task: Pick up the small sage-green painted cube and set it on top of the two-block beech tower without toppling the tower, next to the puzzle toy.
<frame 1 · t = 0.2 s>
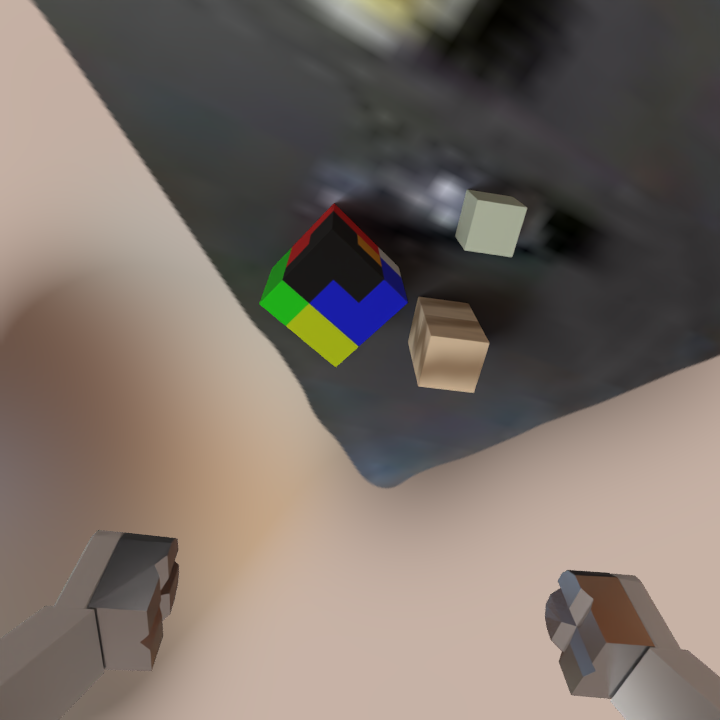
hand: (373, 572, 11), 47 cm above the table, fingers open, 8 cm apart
sage cube: (483, 216, 54), on the table
tower base: (437, 322, 60), on the table, touching tower mid
puzzle toy: (335, 266, 57), on the table
tower mid: (444, 342, 56), point 5 cm above the table, touching tower base
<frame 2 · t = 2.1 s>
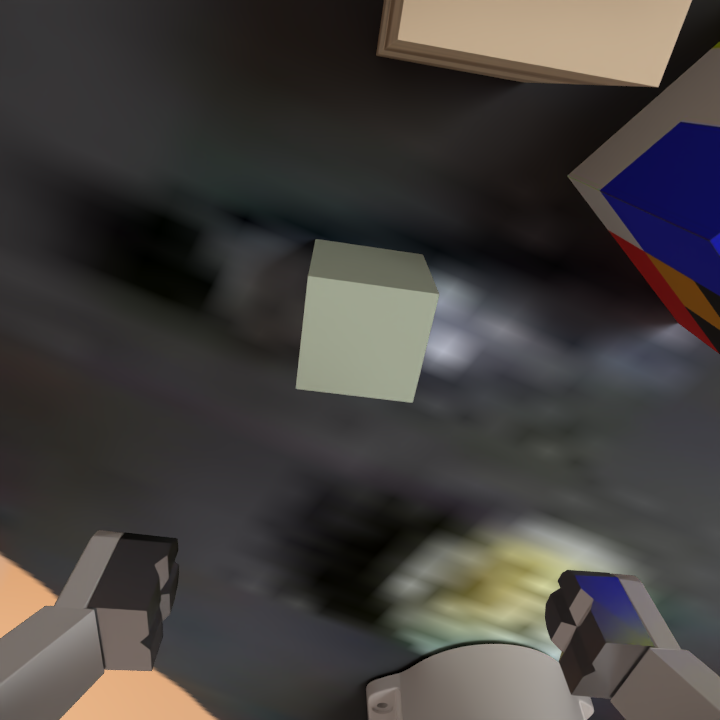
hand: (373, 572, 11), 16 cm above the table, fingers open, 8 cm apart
sage cube: (361, 296, 25), on the table
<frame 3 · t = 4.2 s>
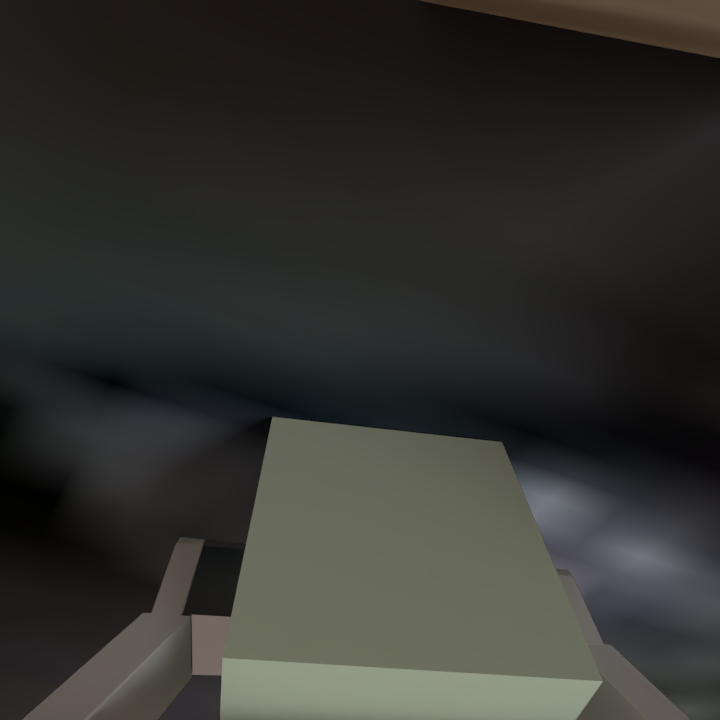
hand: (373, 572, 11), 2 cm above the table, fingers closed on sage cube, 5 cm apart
sage cube: (370, 512, 12), on the table, touching gripper
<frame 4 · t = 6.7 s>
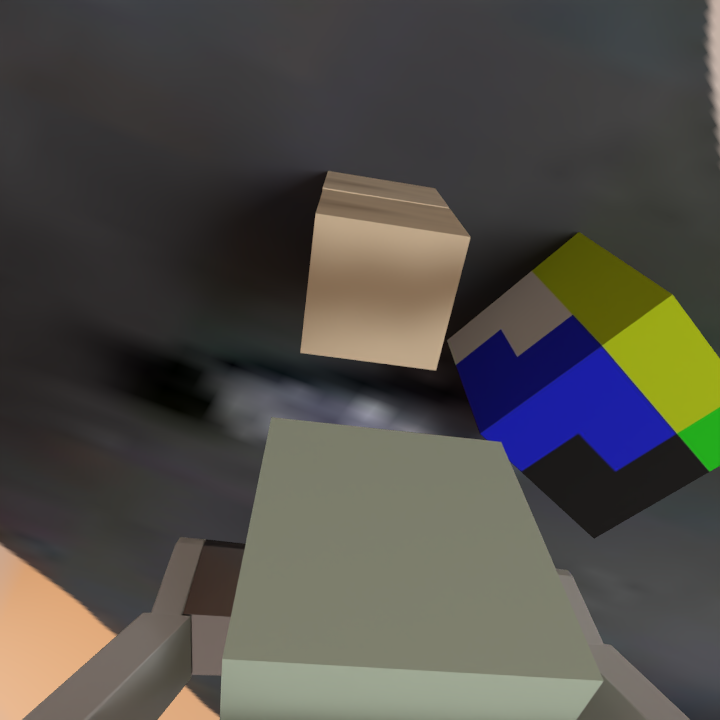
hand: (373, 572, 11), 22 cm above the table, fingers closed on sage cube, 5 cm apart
sage cube: (369, 513, 12), point 20 cm above the table, touching gripper
tower base: (372, 233, 29), on the table, touching tower mid
puzzle toy: (554, 338, 33), on the table
tower mid: (376, 260, 25), point 5 cm above the table, touching tower base
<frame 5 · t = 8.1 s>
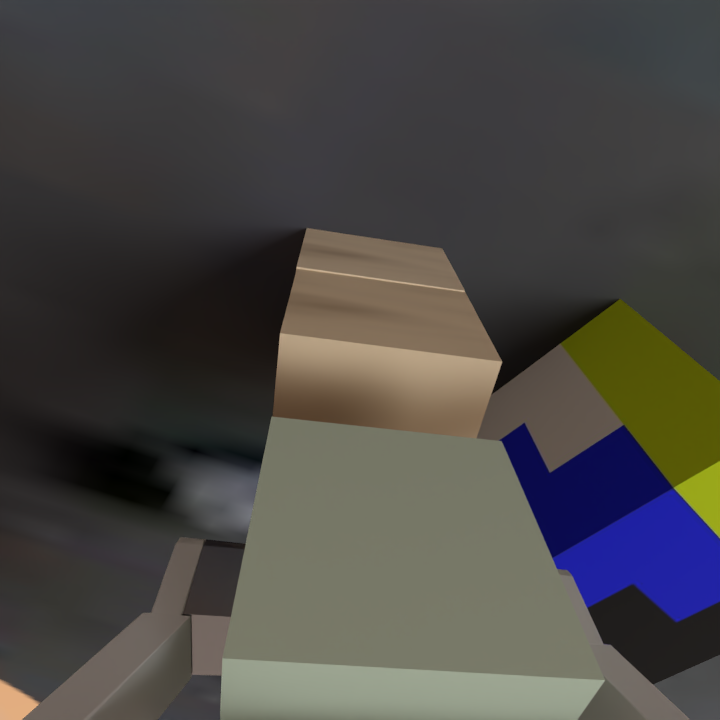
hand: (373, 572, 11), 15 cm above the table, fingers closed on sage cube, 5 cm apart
sage cube: (370, 512, 12), point 13 cm above the table, touching gripper
tower base: (364, 301, 24), on the table, touching tower mid
puzzle toy: (584, 418, 27), on the table
tower mid: (368, 354, 19), point 5 cm above the table, touching tower base
when the fingers open (13 cm above the table, at t = 9.3 s): sage cube drops 1 cm, resting on tower mid.
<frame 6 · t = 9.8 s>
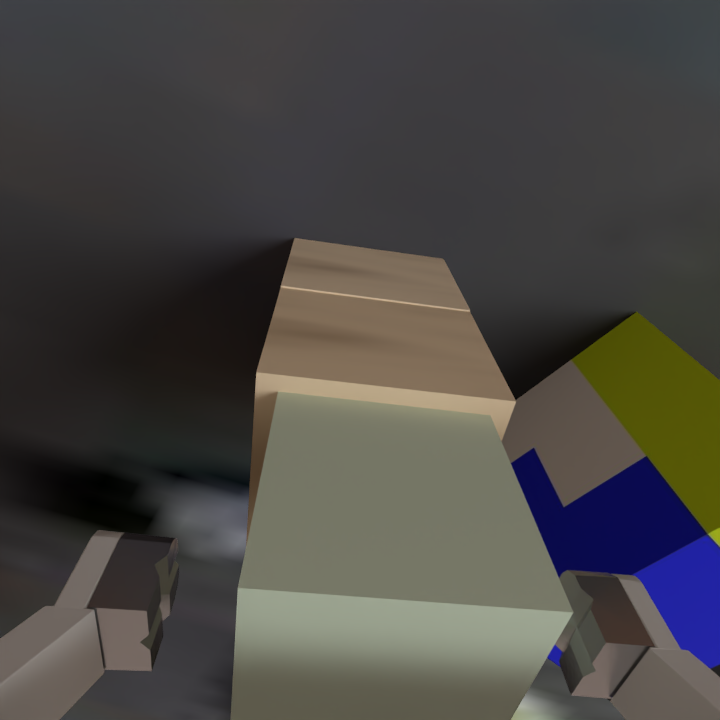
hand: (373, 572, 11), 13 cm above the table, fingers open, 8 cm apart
sage cube: (369, 483, 13), point 10 cm above the table, touching tower mid
tower base: (358, 316, 22), on the table, touching tower mid
puzzle toy: (595, 437, 26), on the table
tower mid: (362, 380, 17), point 5 cm above the table, touching sage cube, tower base
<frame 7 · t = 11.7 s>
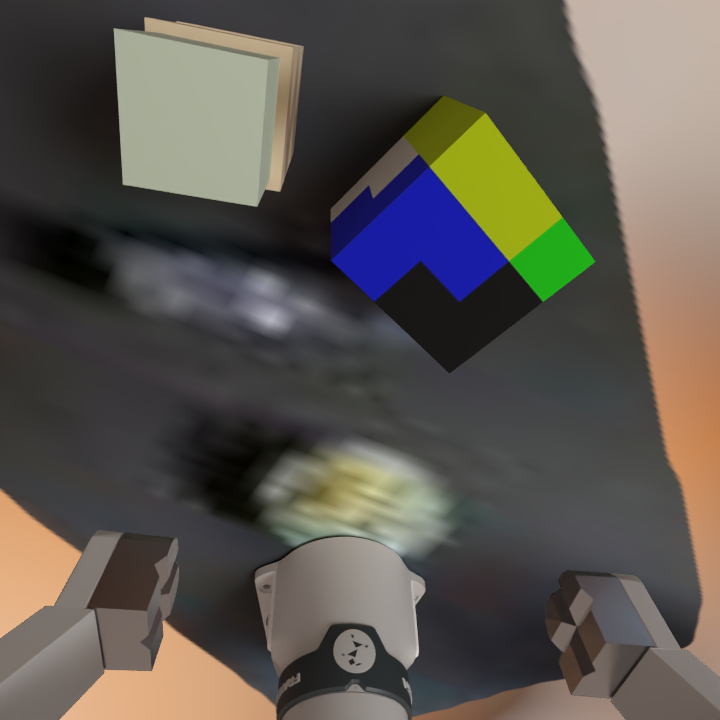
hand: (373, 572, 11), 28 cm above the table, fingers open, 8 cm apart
sage cube: (218, 110, 22), point 10 cm above the table, touching tower mid
tower base: (249, 93, 31), on the table, touching tower mid
puzzle toy: (431, 209, 35), on the table
tower mid: (235, 101, 27), point 5 cm above the table, touching sage cube, tower base
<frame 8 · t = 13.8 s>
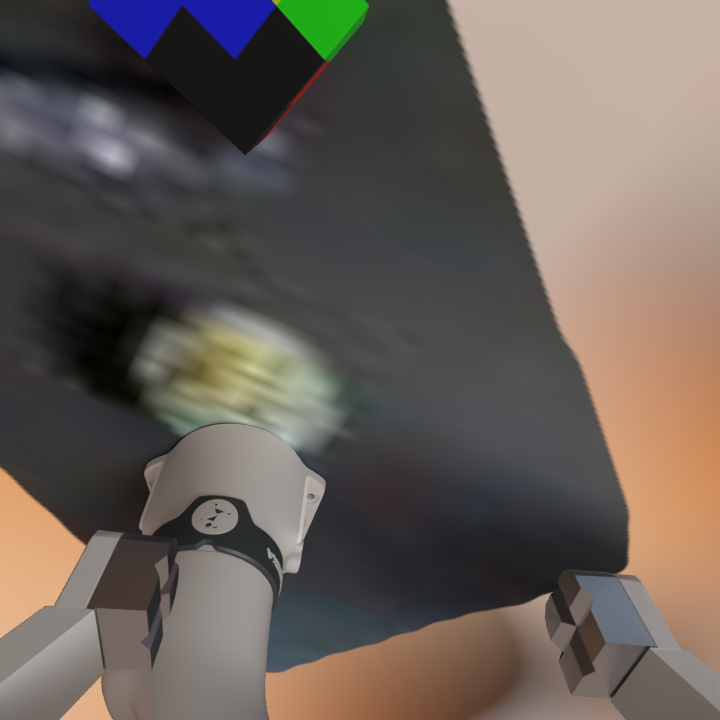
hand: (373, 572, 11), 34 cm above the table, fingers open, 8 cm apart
puzzle toy: (258, 22, 34), on the table
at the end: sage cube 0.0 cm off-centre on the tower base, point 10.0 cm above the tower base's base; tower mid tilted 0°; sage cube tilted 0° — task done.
